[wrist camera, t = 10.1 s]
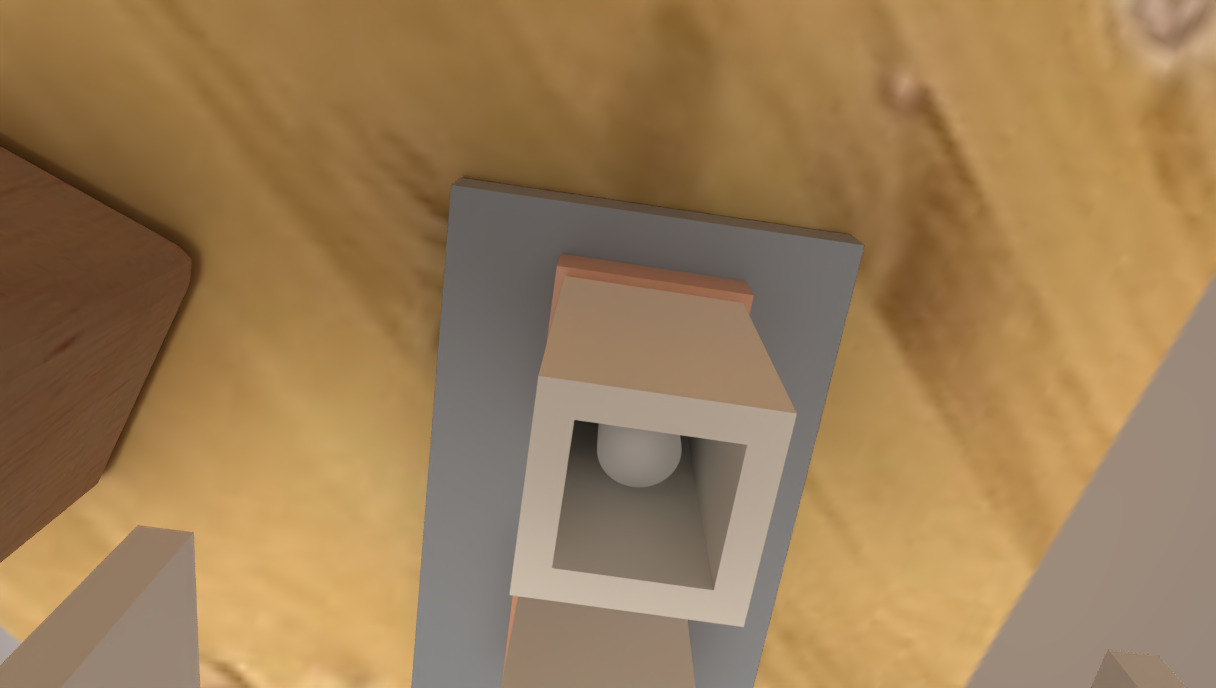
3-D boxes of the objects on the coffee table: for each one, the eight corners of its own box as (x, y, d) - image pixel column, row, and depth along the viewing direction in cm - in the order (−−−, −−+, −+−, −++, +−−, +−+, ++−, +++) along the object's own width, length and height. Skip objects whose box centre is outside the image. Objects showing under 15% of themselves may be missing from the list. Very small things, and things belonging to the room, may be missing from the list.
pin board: (460, 177, 25) (396, 226, 18) (850, 234, 25) (940, 304, 18) (421, 658, 31) (360, 839, 24) (736, 699, 31) (770, 889, 24)
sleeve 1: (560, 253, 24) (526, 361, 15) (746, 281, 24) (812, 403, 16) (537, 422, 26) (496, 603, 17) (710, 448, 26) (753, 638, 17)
